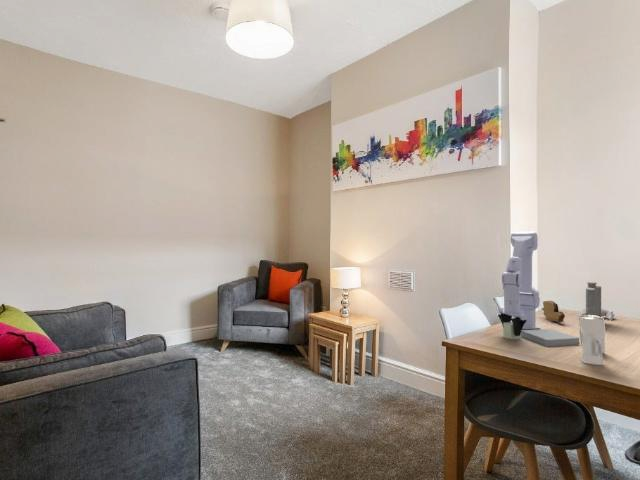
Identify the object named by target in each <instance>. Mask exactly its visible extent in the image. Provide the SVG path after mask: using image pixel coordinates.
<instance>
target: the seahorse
mask: <svg viewBox="0 0 640 480" xmlns="http://www.w3.org/2000/svg"><path fill="white" fill-rule="evenodd" d="M581 315H586V308H584V309H581V313H579V314H578V316H577V317H578V319H579V320H580V316H581ZM603 316H605V318H607V320H608V319H609V320H611V321H612V320H613V319H614V317H615V314H614V311H610V310H606V309H604V308H601V317H602V318H603ZM609 320H608V321H609Z"/></svg>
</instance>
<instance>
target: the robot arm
mask: <svg viewBox="0 0 640 480" xmlns="http://www.w3.org/2000/svg"><path fill="white" fill-rule="evenodd" d="M538 239H539V238H538V234H537V232H536V231H521V232H520V231H519V232H518V231H517V232H516V231H513V232H512V233H511V234H510V244H511V245H512V247H513V250H512V251H513V252H512V257H511V258H509V259H508V261H507V266H506V270H505V272H502V274H501V283H502V289H503V307H498V315H497V317H498V318H499V320H500V322H501V326H503V322H512V323H513V327H514V335H515V336H520V334H521V331H522V330H539V329H541V327H540V326H537V325H536V324H537V323H536V322H537V321H536V318H537V317H536V309H538V308H539V307H540V303H541V300H540V292H539V290H537V289H536V288H535V287H534V286H533V254H534V251H537V249H538V243H539V242H538Z"/></svg>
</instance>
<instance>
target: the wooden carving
mask: <svg viewBox="0 0 640 480" xmlns="http://www.w3.org/2000/svg"><path fill="white" fill-rule="evenodd" d="M542 305H543V307H542V308H541V310H542V311H543V316H544V317H545V318H546V320H548V321H550V322H556V323H564V319H565V318H566V317H565V313H564V312H563V311H559V305H558V303H556V302H555V301H553V300H544V301H542Z"/></svg>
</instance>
